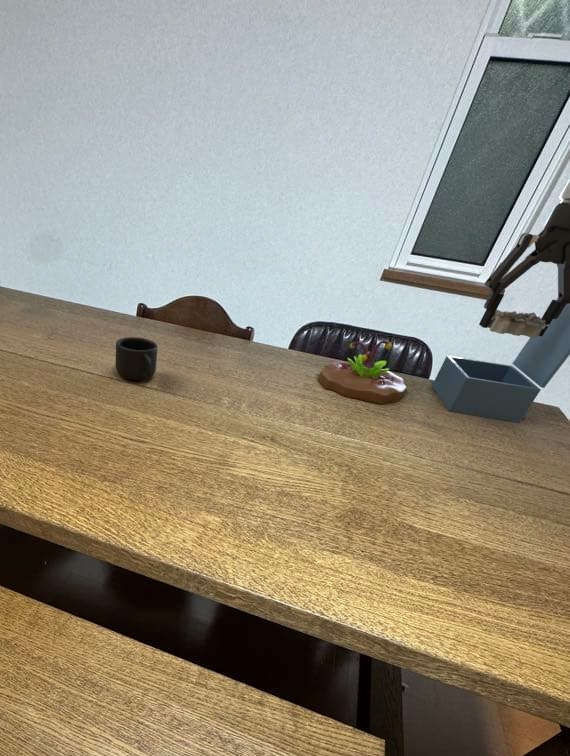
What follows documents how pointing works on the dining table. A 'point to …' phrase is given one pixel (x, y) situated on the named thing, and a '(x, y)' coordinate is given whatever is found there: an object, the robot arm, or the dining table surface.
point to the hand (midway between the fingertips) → (509, 330)
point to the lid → (546, 350)
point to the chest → (484, 389)
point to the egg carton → (517, 323)
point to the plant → (364, 378)
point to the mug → (136, 358)
